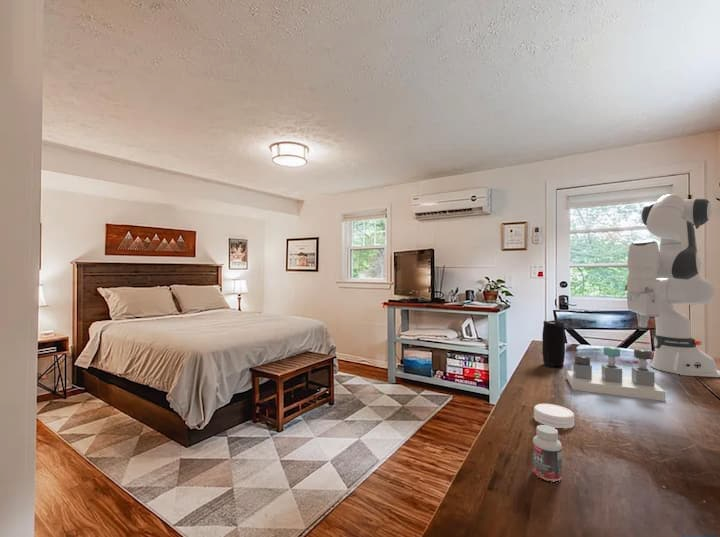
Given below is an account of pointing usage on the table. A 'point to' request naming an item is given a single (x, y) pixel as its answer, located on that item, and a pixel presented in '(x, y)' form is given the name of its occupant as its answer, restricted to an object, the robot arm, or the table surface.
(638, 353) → the near knob
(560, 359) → the portable speaker
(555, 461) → the pill bottle
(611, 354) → the teal dial
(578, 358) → the far knob
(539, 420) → the white jar lid
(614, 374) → the mount panel
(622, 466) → the table surface
